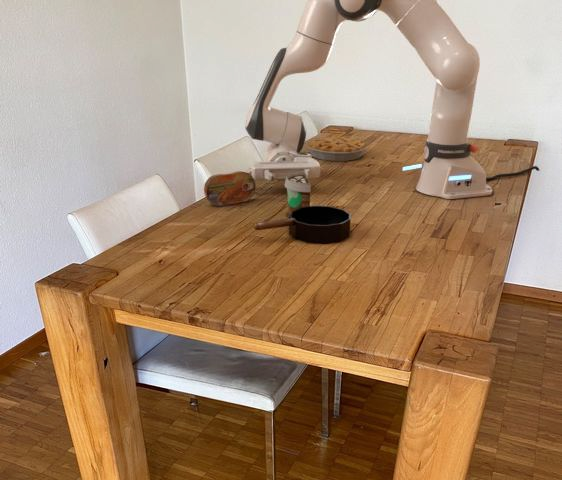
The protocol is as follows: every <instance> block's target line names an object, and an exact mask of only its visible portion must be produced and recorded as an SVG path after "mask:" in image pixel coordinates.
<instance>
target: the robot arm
mask: <svg viewBox="0 0 562 480" xmlns="http://www.w3.org/2000/svg"><path fill="white" fill-rule="evenodd" d="M378 11H380V12H382V13H384V14H385V15H386V16H387V17H388V18H389V19H390V20H391V22H392V23H393V24H394V26H396V29H398V30H399V31H400V33H401V34H402V36H404V38H405V39H406V40H407V41H408V43H409V44H410V45H411V46H412V47H413V49H414V50H415V52H416V53H417V55H418V56H419V58H420V59H421V61H422V62H423V63H424V65H425V67H427V69H428V71H429V72H430V74H431V75H432V76H433V77H434V79H435V80H436V83H435V87H434V88H435V89H434V95H433V101H432V106H431V107H432V108H431V113H430V120H429V130H428V136H427V139H426V140H425V145H424V146H425V147H424V151H423V164H422V163H419V164H414V165H407V166H403V167H402V171H409V170H415V169H420V168H421V172H420V175H419V179H418V181H417V184H416V186H415V190H416V191H417V192H419V193H421V194H424V195H428V196H431V197H432V196H433V197H438V198H443V199H446V200H457V199H465V198H474V197H475V198H477V197H484V196H485V197H486V196H492V195H493V189H492V187H491V186H490V185H489V184H487V181H493V180H496V179H498V178H506V177H515V176H520V175H523V174H526V173H529V172H531V171H534V170H535V171H537V172H539V171H540V168H539V166H537V165H533V166H531V167H529V168H526V169H522V170H520V171H515V172H508V173H500V174H495V175H493V176H490V177H487V173H486V170H485V168H484V167H483V166H482V165H481V164H480V163H478V161H477V160H476V159H475V158H474V157H472V155H471V153H472V154H476V153H477V152H478V151H479V147H478V146H477V145H475V144H471V143H470V142H468V136H469V130H470V124H471V120H472V119H471V118H472V113H473V108H474V107H473V106H474V100H475V94H476V88H477V87H476V86H477V82H478V75H479V71H480V63H481V61H480V54H479V52H478V50H477V48H476V47H475V46H474V45H473V44H471V43H469V42H468V41H467V39H466V38H465V37H464V36H463V34H462V33H461V31H460V30H459V29H458V27H457V25H456V24H455V23H454V21H453V20H452V19H451V18H450V15H448V13H447V12H446V10H445V9H444V8H443V7H442V5H440V3H439V2H438V1H437V0H307V1H306V4H305V6H304V9H303V10H302V13H301V15H300V19H299V21H298V24H297V28H296V31H295V34H294V36H293V38H292V40H291V41H290V43H289V44H288V45H287V46H286V47H283V48H280V50H278V52H277V53H276V55H275V57H274V59H273V61H272V63H271V64H270V67H269V69H268V71H267V74H266V75H265V78H264V80H263V82H262V85H261V87H260V89H259V92H258V94H257V96H256V98H255V100H254V102H253V104H252V106H251V107H250V110H248V113H247V114H246V119H245V124H244V125H245V126H244V127H245V131H246V133H247V134H248V136H249V137H250V138H251V139H252V140H255V141H261V142H267V143H269V144H268V145H267V147H266V149H265V152H264V161H263V160H262V161H254V162H252V164H251V165H249V166H248V170H249V171H250V172H251V176H252V177H253V178H254V181H263V180H264V181H265V180H268V181H269V182H275V180H276V181H278V182H285V180H286V178H287V176H288V175H290V174H293V173H298V172H305V177H306V179H307V180H308V181H309V179H318V178H320V177H321V165H320V163H319V161H318V160H317V159H316V158H314V157H313V156H311V153H306V152H302V149H303V148H304V145H305V142H306V139H307V125H306V122H305V120H304V118H303V116H302V115H301V116H300V115H298V114H295V113H291V112H288V111H284V110H280V109H278V108H275V107H271V105H270V104H271V102H272V100H273V98H274V96H275V94H276V91H277V89H278V88H279V85H280V83H281V82H282V80H283V79H284V78H287V77H288V76H290V75H295V74H305V73H306V74H307V73H311V72H315V71H317V70H319V69H321V68H322V67H324V66H325V65H326V64H327V62H328V60H329V58H330V55H331V53H332V50H333V47H334V44H335V41H336V37H337V35H338V31H339V30H340V27H341V26H342V24H343V23H344V22H345V21H352V22H356V23H357V22H363V21H366V20H369V19H370V18H372V17H373V16H374V15H375V14H376V13H377V12H378ZM312 157H313V158H312Z"/></svg>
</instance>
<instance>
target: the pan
mask: <svg viewBox="0 0 562 480" xmlns="http://www.w3.org/2000/svg"><path fill="white" fill-rule="evenodd" d="M351 218H352V214H351V213H350V212H348V211H346V209H343V208H340V207H335V206H330V205H310V206H308V207H301V208H298V209H296V210H293V211H291V213H290V216H289V215H288V217H287V218H282V219H281V218H280V219H273V220H266V221H259V222H255V223H254V225H253V228H254V230H256V231H263V230H270V229H271V230H272V229H278V228H285V227H288V235H289V236H290V237H292V238H293V239H294V240H296V241H300V242H303V243H307V244H314V245H315V244H316V245H327V244H328V245H329V244H335V243H341V242H342V241H345V240H347V239H349V238H350V233H351Z"/></svg>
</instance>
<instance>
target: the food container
mask: <svg viewBox="0 0 562 480" xmlns="http://www.w3.org/2000/svg"><path fill="white" fill-rule="evenodd" d="M284 188H286V193H287V194H286V195H287V209H288V217H289V216H290V213H291V211H293V210H296V209H298V208H301V207H308V206H311V192H312V183H309V179H308V180H307V179H306V177H305V172H298V173H293V174H290V175H288V176H287V178H286V180H285V181H284Z"/></svg>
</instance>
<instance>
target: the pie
mask: <svg viewBox="0 0 562 480" xmlns="http://www.w3.org/2000/svg"><path fill="white" fill-rule="evenodd" d="M306 147H307V149H308V150H309V154H311V157H313V158H314V159H319V160H323V161H330V162H331V161H332V162H348V161H354V160H358V159H360V158H361V157H362V156H363V154H364V152H365V151H366V149H367V148H368V146H367V143H366V142H365V141H364V140H359V139H358V138H350V137H348V136H346V137H340V136H334V137H330V136H325V137H323V138H317V137H316V138H315V139H311V140H310V141H308V142H307V145H306Z"/></svg>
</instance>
